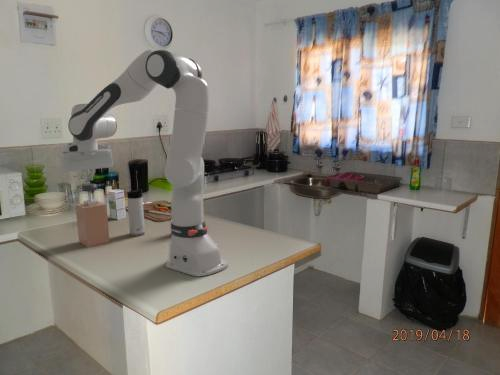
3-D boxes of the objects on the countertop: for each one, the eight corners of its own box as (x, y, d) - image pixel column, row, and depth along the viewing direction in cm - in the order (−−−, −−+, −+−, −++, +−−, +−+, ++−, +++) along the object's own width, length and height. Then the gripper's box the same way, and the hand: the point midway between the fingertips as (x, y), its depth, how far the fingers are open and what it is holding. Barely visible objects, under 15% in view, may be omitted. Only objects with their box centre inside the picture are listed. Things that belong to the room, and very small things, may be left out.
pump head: (101, 213, 157) (99, 185, 155) (87, 216, 153) (84, 186, 151) (92, 210, 163) (90, 182, 161) (79, 212, 159) (76, 184, 157)
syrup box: (126, 217, 197) (124, 189, 194) (117, 220, 192) (114, 191, 189) (119, 216, 200) (117, 188, 197) (109, 218, 195) (107, 190, 192)
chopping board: (206, 214, 203) (206, 209, 203) (161, 224, 185) (161, 218, 184) (161, 201, 235) (160, 196, 235) (119, 209, 217) (119, 203, 216)
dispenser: (109, 242, 159) (106, 200, 156) (87, 247, 153) (83, 204, 150) (100, 237, 165) (97, 197, 162) (79, 242, 159) (75, 200, 156)
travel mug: (141, 236, 166) (138, 191, 162) (127, 235, 167) (124, 190, 163) (148, 232, 172) (145, 188, 168) (134, 231, 173) (131, 187, 169)
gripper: (108, 144, 161) (110, 176, 164) (56, 147, 147) (59, 182, 150) (114, 144, 157) (117, 178, 159) (61, 148, 143) (65, 184, 145)
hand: (88, 180), depth 154 cm, fingers closed
